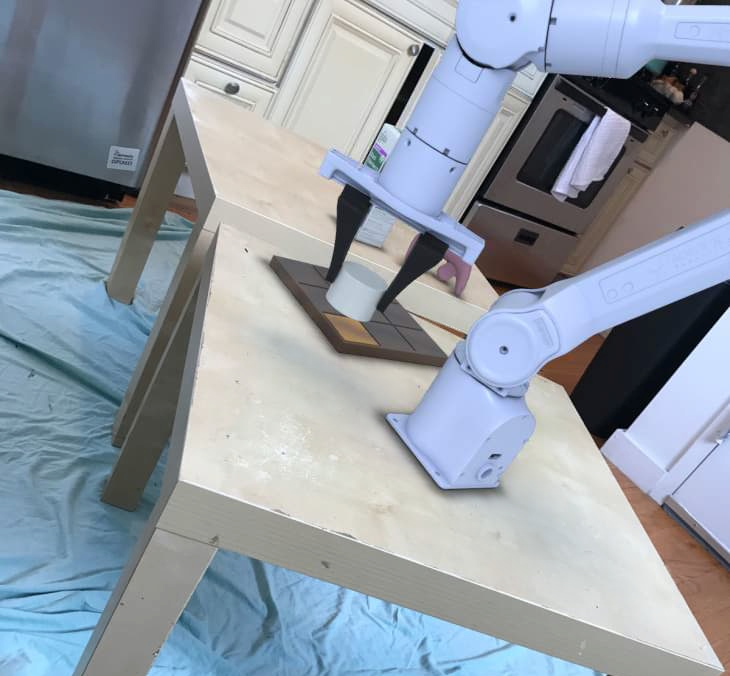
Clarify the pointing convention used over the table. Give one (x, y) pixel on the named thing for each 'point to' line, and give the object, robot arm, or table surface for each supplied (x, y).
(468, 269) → the video game controller
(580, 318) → the robot arm
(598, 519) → the table surface
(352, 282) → the white squat cylinder
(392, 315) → the board
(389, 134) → the syrup box
